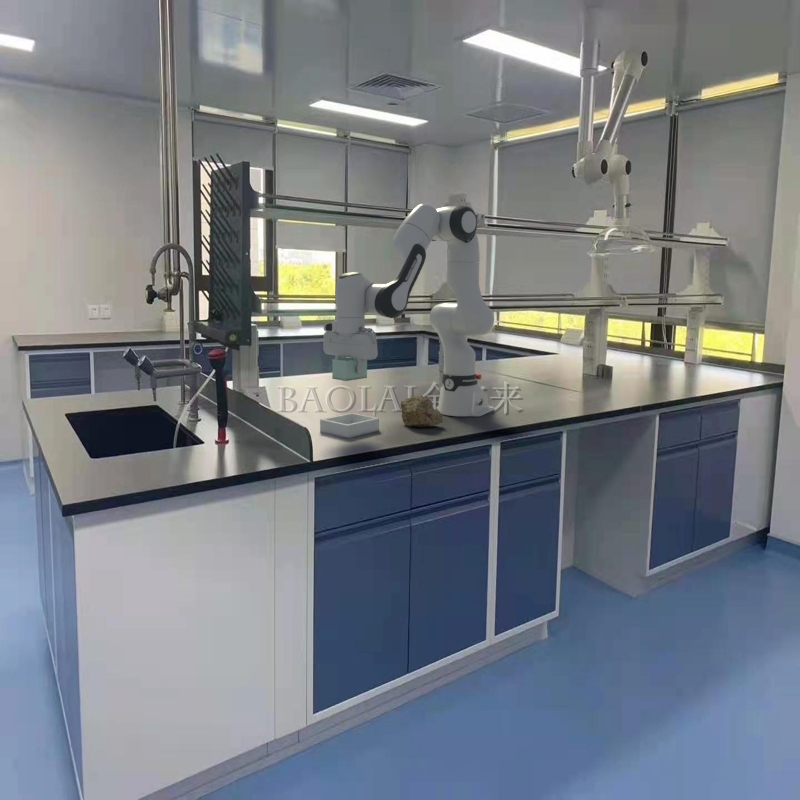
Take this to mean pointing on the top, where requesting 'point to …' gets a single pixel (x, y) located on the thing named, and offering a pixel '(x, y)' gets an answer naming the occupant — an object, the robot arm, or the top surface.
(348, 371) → the box
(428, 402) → the rock
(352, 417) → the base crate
